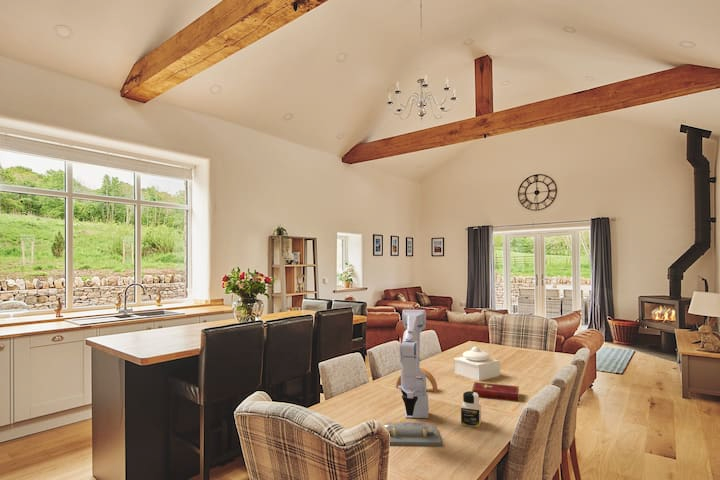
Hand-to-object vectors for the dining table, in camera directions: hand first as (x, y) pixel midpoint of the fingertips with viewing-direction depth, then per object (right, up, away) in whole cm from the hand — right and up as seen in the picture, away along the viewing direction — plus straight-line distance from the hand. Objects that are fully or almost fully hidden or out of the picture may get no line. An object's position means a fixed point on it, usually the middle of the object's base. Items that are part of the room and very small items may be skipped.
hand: (408, 411), depth 157 cm
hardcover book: (+47, -12, +46) cm, 67 cm away
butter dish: (+48, -13, +81) cm, 95 cm away
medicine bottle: (+26, -10, +13) cm, 31 cm away
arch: (+10, -12, +57) cm, 59 cm away
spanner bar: (0, -8, 0) cm, 8 cm away
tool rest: (0, -9, 0) cm, 9 cm away
